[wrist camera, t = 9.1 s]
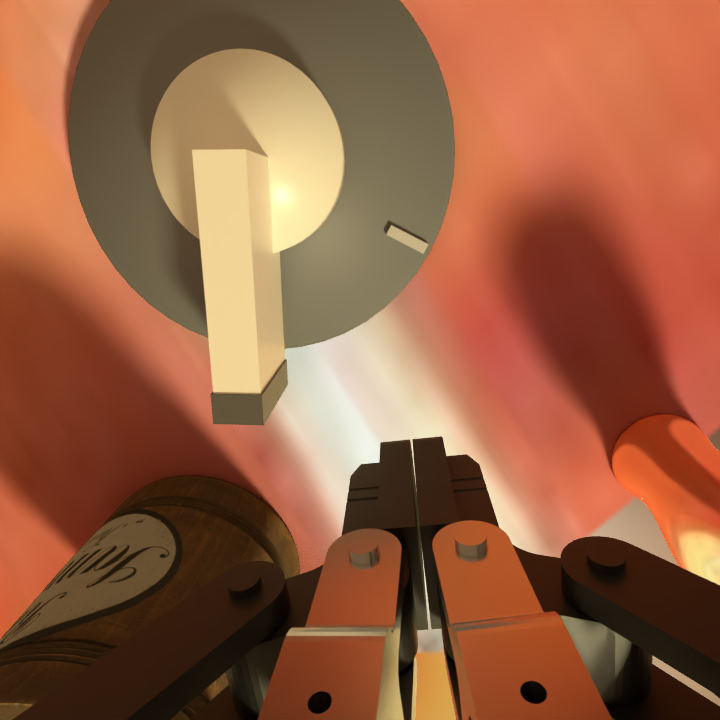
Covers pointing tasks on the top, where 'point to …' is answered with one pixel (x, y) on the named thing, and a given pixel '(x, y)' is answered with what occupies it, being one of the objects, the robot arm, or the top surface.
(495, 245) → the top surface
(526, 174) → the top surface
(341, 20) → the dial base
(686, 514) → the beer glass
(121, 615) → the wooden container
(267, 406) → the dial lever
